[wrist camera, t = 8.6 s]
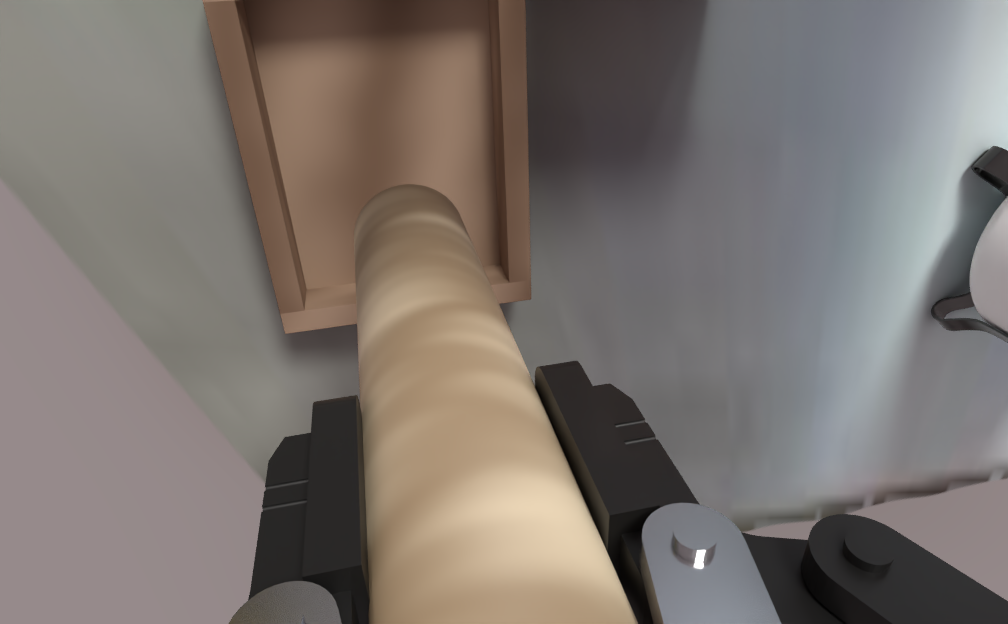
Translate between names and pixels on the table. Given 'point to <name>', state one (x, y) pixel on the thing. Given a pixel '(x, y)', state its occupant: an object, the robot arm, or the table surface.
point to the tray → (375, 131)
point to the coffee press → (986, 262)
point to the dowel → (460, 441)
